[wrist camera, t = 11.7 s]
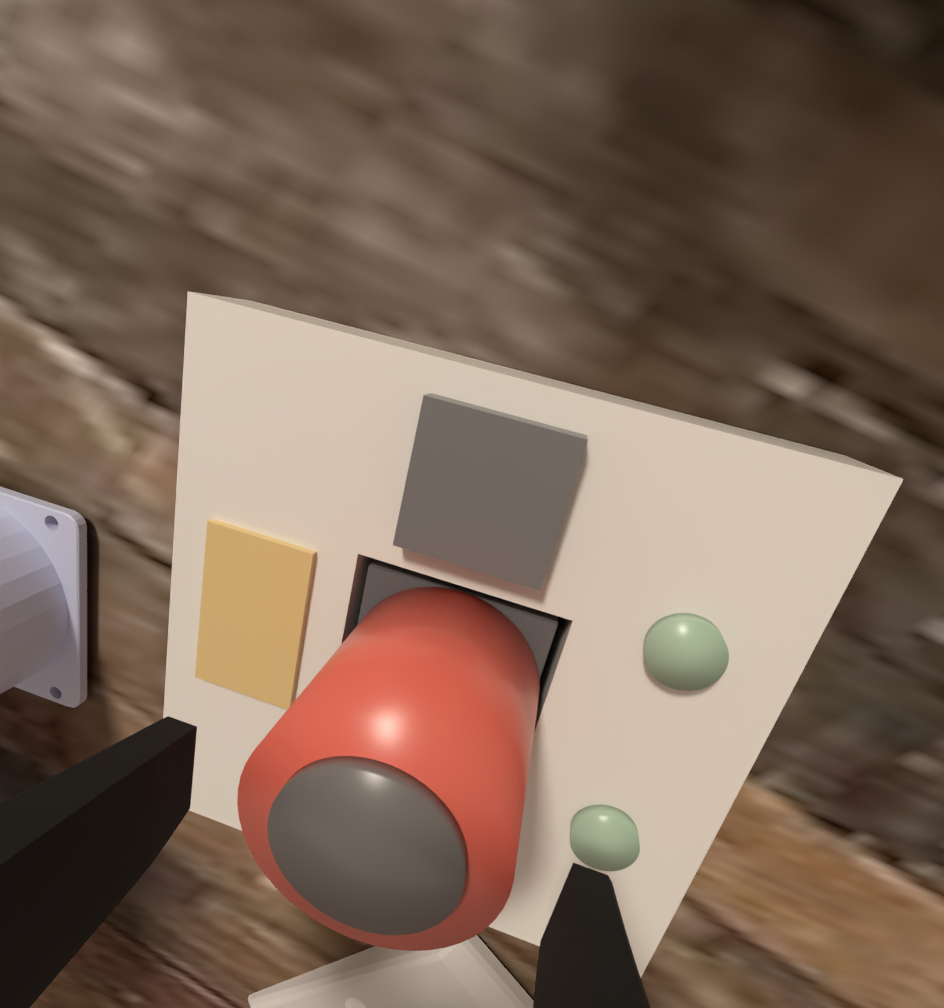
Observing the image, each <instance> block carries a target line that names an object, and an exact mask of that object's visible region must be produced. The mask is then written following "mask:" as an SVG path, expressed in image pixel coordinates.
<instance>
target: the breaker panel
mask: <svg viewBox="0 0 944 1008" xmlns="http://www.w3.org/2000/svg"><path fill="white" fill-rule="evenodd" d="M902 481H903V479H902V478H899V477H897V476H895V475H892V474H890V473H887V472H885V471H882V470H880V469H877V468H875V467H872V466H870V465H867V464H865V463H862V462H860V461H857V460H855V459H852V458H850V457H848V456H845V455H842V454H838V453H834V452H830V451H826V450H822V449H818V448H815V447H811V446H807V445H803V444H799V443H795V442H792V441H788V440H784V439H780V438H776V437H772V436H769V435H765V434H761V433H757V432H753V431H749V430H746V429H742V428H738V427H734V426H730V425H726V424H723V423H719V422H715V421H711V420H707V419H703V418H699V417H696V416H692V415H688V414H684V413H680V412H676V411H673V410H669V409H665V408H661V407H657V406H653V405H650V404H646V403H642V402H638V401H634V400H630V399H627V398H623V397H619V396H615V395H611V394H607V393H604V392H600V391H596V390H592V389H588V388H584V387H581V386H577V385H573V384H569V383H565V382H561V381H557V380H554V379H550V378H546V377H542V376H538V375H534V374H531V373H527V372H523V371H519V370H515V369H511V368H508V367H504V366H500V365H496V364H492V363H488V362H485V361H481V360H477V359H473V358H469V357H465V356H462V355H458V354H454V353H450V352H446V351H442V350H439V349H435V348H431V347H427V346H423V345H419V344H415V343H412V342H408V341H404V340H400V339H396V338H392V337H389V336H385V335H381V334H377V333H373V332H369V331H366V330H362V329H358V328H354V327H350V326H346V325H343V324H339V323H335V322H331V321H327V320H323V319H320V318H316V317H312V316H308V315H304V314H300V313H296V312H293V311H289V310H285V309H281V308H277V307H273V306H270V305H266V304H262V303H258V302H254V301H250V300H243V299H236V298H230V297H223V296H216V295H209V294H202V293H195V292H188V297H187V315H186V332H185V349H184V367H183V384H182V402H181V419H180V436H179V454H178V471H177V489H176V506H175V523H174V541H173V558H172V576H171V593H170V610H169V628H168V645H167V663H166V680H165V697H164V715H163V719H164V718H166V717H167V716H169V717H172V718H175V719H177V720H180V721H183V722H186V723H189V724H191V725H194V726H197V733H196V745H195V757H194V769H193V781H192V792H191V804H190V809H189V810H190V811H192V812H195V813H198V814H200V815H203V816H205V817H208V818H210V819H213V820H216V821H218V822H221V823H223V824H226V825H228V826H231V827H234V828H236V829H239V830H241V831H242V828H241V824H240V820H239V814H238V805H237V798H238V786H239V781H240V776H241V774H242V771H243V769H244V766H245V764H246V762H247V760H248V759H249V757H250V755H251V754H252V752H253V751H254V750H255V748H256V747H257V746H258V745H259V744H260V742H261V741H262V740H263V739H264V738H265V736H266V735H267V734H268V733H269V731H270V730H271V729H272V728H273V727H274V725H275V724H276V723H277V722H278V721H279V719H280V718H281V717H282V716H283V715H284V713H285V712H286V711H287V710H288V709H289V707H290V706H291V705H292V704H293V702H294V701H295V700H296V699H297V698H298V696H299V695H300V694H301V693H302V692H303V690H304V689H305V688H306V687H307V686H308V684H309V683H310V682H311V681H312V679H313V678H314V677H315V676H316V675H317V673H318V672H319V671H320V670H321V669H322V667H323V666H324V665H325V664H326V663H327V661H328V660H329V659H330V658H331V656H332V655H333V654H334V653H335V652H336V650H337V649H338V648H339V647H340V646H341V644H342V643H343V642H344V641H345V640H346V638H347V637H348V636H349V635H350V633H351V632H352V631H353V630H354V629H355V627H356V626H357V624H358V619H359V614H360V609H361V603H362V598H363V593H364V588H365V582H366V577H367V572H368V567H369V565H370V564H371V563H372V562H373V561H374V560H375V559H377V560H380V561H383V562H386V563H389V564H393V565H396V566H399V567H402V568H405V569H409V570H412V571H415V572H418V573H421V574H425V575H428V576H431V577H434V578H437V579H441V580H444V581H447V582H450V583H453V584H457V585H460V586H463V587H466V588H469V589H473V590H476V591H479V592H482V593H485V594H488V595H492V596H495V597H498V598H501V599H504V600H508V601H511V602H514V603H517V604H520V605H524V606H527V607H530V608H533V609H536V610H540V611H543V612H546V613H549V614H552V615H556V616H559V617H561V619H560V622H559V625H558V628H557V631H556V634H555V637H554V640H553V643H552V646H551V649H550V652H549V655H548V658H547V661H546V664H545V667H544V670H543V673H542V676H541V679H540V691H539V700H538V708H537V715H536V722H535V730H534V737H533V744H532V751H531V759H530V766H529V773H528V781H527V788H526V795H525V803H524V810H523V817H522V825H521V832H520V839H519V847H518V854H517V861H516V869H515V876H514V882H513V886H512V890H511V893H510V896H509V898H508V900H507V903H506V905H505V907H504V909H503V910H502V911H501V913H500V914H499V915H498V917H497V918H496V919H495V920H494V921H493V922H492V923H491V924H490V925H489V927H491V928H494V929H496V930H499V931H501V932H504V933H507V934H509V935H512V936H514V937H517V938H519V939H522V940H525V941H527V942H530V943H532V944H535V945H537V946H540V941H541V939H542V936H543V934H544V932H545V929H546V927H547V924H548V922H549V920H550V917H551V915H552V912H553V910H554V907H555V905H556V903H557V900H558V898H559V895H560V893H561V891H562V888H563V886H564V883H565V881H566V879H567V876H568V874H569V871H570V869H571V867H572V864H573V863H576V864H579V865H582V866H584V867H587V868H590V869H593V870H595V871H598V872H601V873H604V874H606V875H608V876H609V878H610V879H611V881H612V884H613V887H614V891H615V895H616V898H617V902H618V906H619V909H620V913H621V916H622V920H623V923H624V926H625V930H626V933H627V936H628V940H629V943H630V946H631V950H632V953H633V956H634V959H635V962H636V966H637V969H638V972H639V975H640V978H641V977H642V975H643V973H644V971H645V969H646V967H647V965H648V963H649V961H650V959H651V958H652V956H653V954H654V952H655V950H656V948H657V946H658V944H659V942H660V940H661V939H662V937H663V935H664V933H665V931H666V929H667V927H668V925H669V923H670V921H671V920H672V918H673V916H674V914H675V912H676V910H677V908H678V906H679V904H680V903H681V901H682V899H683V897H684V895H685V893H686V891H687V889H688V887H689V885H690V884H691V882H692V880H693V878H694V876H695V874H696V872H697V870H698V868H699V866H700V865H701V863H702V861H703V859H704V857H705V855H706V853H707V851H708V849H709V847H710V846H711V844H712V842H713V840H714V838H715V836H716V834H717V832H718V830H719V829H720V827H721V825H722V823H723V821H724V819H725V817H726V815H727V813H728V811H729V810H730V808H731V806H732V804H733V802H734V800H735V798H736V796H737V794H738V792H739V791H740V789H741V787H742V785H743V783H744V781H745V779H746V777H747V775H748V773H749V772H750V770H751V768H752V766H753V764H754V762H755V760H756V758H757V756H758V754H759V753H760V751H761V749H762V747H763V745H764V743H765V741H766V739H767V737H768V736H769V734H770V732H771V730H772V728H773V726H774V724H775V722H776V720H777V718H778V717H779V715H780V713H781V711H782V709H783V707H784V705H785V703H786V701H787V699H788V698H789V696H790V694H791V692H792V690H793V688H794V686H795V684H796V682H797V680H798V679H799V677H800V675H801V673H802V671H803V669H804V667H805V665H806V663H807V662H808V660H809V658H810V656H811V654H812V652H813V650H814V648H815V646H816V644H817V643H818V641H819V639H820V637H821V635H822V633H823V631H824V629H825V627H826V625H827V624H828V622H829V620H830V618H831V616H832V614H833V612H834V610H835V608H836V606H837V605H838V603H839V601H840V599H841V597H842V595H843V593H844V591H845V589H846V588H847V586H848V584H849V582H850V580H851V578H852V576H853V574H854V572H855V570H856V569H857V567H858V565H859V563H860V561H861V559H862V557H863V555H864V553H865V551H866V550H867V548H868V546H869V544H870V542H871V540H872V538H873V536H874V534H875V532H876V531H877V529H878V527H879V525H880V523H881V521H882V519H883V517H884V515H885V513H886V512H887V510H888V508H889V506H890V504H891V502H892V500H893V498H894V496H895V495H896V493H897V491H898V489H899V487H900V485H901V483H902Z"/></svg>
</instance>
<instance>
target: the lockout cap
mask: <svg viewBox="0 0 944 1008" xmlns="http://www.w3.org/2000/svg"><path fill="white" fill-rule="evenodd" d="M539 691H540V680H539V672H538V667H537V662H536V660H535V657H534V654H533V651H532V650H531V648H530V646H529V644H528V642H527V640H526V639H525V637H524V636H523V634H522V633H521V631H520V630H519V629H518V628H517V627H516V625H515V624H514V623H513V622H512V621H511V620H510V619H509V618H508V617H507V616H505V615H504V614H503V613H502V612H501V611H500V610H498V609H497V608H495V607H494V606H492V605H491V604H489V603H488V602H486V601H484V600H482V599H480V598H478V597H476V596H474V595H471V594H468V593H466V592H463V591H459V590H455V589H451V588H444V587H418V588H411V589H407V590H403V591H400V592H398V593H395V594H393V595H390V596H389V597H387V598H385V599H384V600H382V601H380V602H379V603H378V604H377V605H375V606H374V607H373V608H372V609H371V610H370V611H369V612H368V613H367V614H366V615H365V617H364V618H363V619H362V620H361V621H360V623H359V624H358V625H357V626H356V627H355V629H354V630H353V631H352V632H351V633H350V635H349V636H348V637H347V638H346V640H345V641H344V642H343V643H342V644H341V646H340V647H339V648H338V649H337V650H336V652H335V653H334V654H333V655H332V656H331V658H330V659H329V660H328V661H327V663H326V664H325V665H324V666H323V667H322V669H321V670H320V671H319V672H318V673H317V675H316V676H315V677H314V678H313V679H312V681H311V682H310V683H309V684H308V686H307V687H306V688H305V689H304V690H303V692H302V693H301V694H300V695H299V696H298V698H297V699H296V700H295V701H294V702H293V704H292V705H291V706H290V707H289V709H288V710H287V711H286V712H285V713H284V715H283V716H282V717H281V718H280V719H279V721H278V722H277V723H276V724H275V725H274V727H273V728H272V729H271V730H270V731H269V733H268V734H267V735H266V736H265V738H264V739H263V740H262V741H261V742H260V744H259V745H258V746H257V747H256V748H255V750H254V751H253V752H252V754H251V755H250V757H249V759H248V760H247V762H246V764H245V766H244V769H243V771H242V774H241V776H240V781H239V786H238V798H237V805H238V814H239V820H240V824H241V828H242V832H243V835H244V837H245V840H246V842H247V845H248V847H249V849H250V851H251V853H252V855H253V857H254V858H255V860H256V862H257V863H258V865H259V866H260V868H261V869H262V871H263V872H264V874H265V875H266V876H267V877H268V879H269V880H270V881H271V882H272V883H273V885H274V886H275V887H276V888H277V889H278V890H279V891H280V892H281V893H282V894H283V895H284V896H285V897H286V898H287V899H288V900H289V901H290V902H292V903H293V904H294V905H295V906H296V907H298V908H299V909H300V910H301V911H303V912H304V913H306V914H307V915H308V916H310V917H311V918H313V919H314V920H316V921H317V922H319V923H321V924H323V925H324V926H326V927H328V928H330V929H331V930H334V931H336V932H338V933H340V934H342V935H344V936H346V937H349V938H352V939H355V940H357V941H360V942H363V943H366V944H370V945H374V946H378V947H382V948H388V949H394V950H406V951H424V950H434V949H440V948H446V947H449V946H453V945H456V944H459V943H462V942H464V941H466V940H468V939H470V938H473V937H474V936H476V935H477V934H479V933H480V932H482V931H483V930H485V929H486V928H487V927H488V926H489V925H490V924H491V923H492V922H493V921H494V920H495V919H496V918H497V917H498V915H499V914H500V913H501V911H502V910H503V909H504V907H505V905H506V903H507V900H508V898H509V896H510V893H511V890H512V886H513V882H514V876H515V869H516V861H517V854H518V847H519V839H520V832H521V825H522V817H523V810H524V803H525V795H526V788H527V781H528V773H529V766H530V759H531V751H532V744H533V737H534V730H535V722H536V715H537V708H538V700H539Z"/></svg>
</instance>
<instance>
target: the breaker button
mask: <svg viewBox="0 0 944 1008" xmlns="http://www.w3.org/2000/svg"><path fill="white" fill-rule="evenodd" d="M418 587H444V588H451V589H455V590H459V591H463V592H466V593H468V594H471V595H474V596H476V597H478V598H480V599H482V600H484V601H486V602H488V603H489V604H491V605H492V606H494V607H495V608H497V609H498V610H500V611H501V612H502V613H503V614H504V615H505V616H507V617H508V618H509V619H510V620H511V621H512V622H513V623H514V624H515V625H516V627H517V628H518V629H519V630H520V631H521V633H522V634H523V636H524V637H525V639H526V640H527V642H528V644H529V646H530V648H531V650H532V651H533V654H534V657H535V660H536V662H537V667H538V672H539V679H540V676H541V673H542V670H543V667H544V664H545V661H546V658H547V655H548V652H549V649H550V646H551V643H552V640H553V637H554V634H555V631H556V628H557V625H558V616H556V615H552V614H549V613H546V612H543V611H540V610H536V609H533V608H530V607H527V606H524V605H520V604H517V603H514V602H511V601H508V600H504V599H501V598H498V597H495V596H492V595H488V594H485V593H482V592H479V591H476V590H473V589H469V588H466V587H463V586H460V585H457V584H453V583H450V582H447V581H444V580H441V579H437V578H434V577H431V576H428V575H425V574H421V573H418V572H415V571H412V570H409V569H405V568H402V567H399V566H396V565H393V564H389V563H386V562H383V561H380V560H377V559H375V560H374V561H373V562H372V563H371V564H370V565H369V567H368V572H367V577H366V582H365V588H364V593H363V598H362V603H361V609H360V614H359V619H358V624H359V623H360V621H361V620H362V619H363V618H364V617H365V615H366V614H367V613H368V612H369V611H370V610H371V609H372V608H373V607H374V606H375V605H377V604H378V603H379V602H380V601H382V600H384V599H385V598H387V597H389V596H390V595H393V594H395V593H398V592H400V591H403V590H407V589H411V588H418ZM358 624H357V625H358Z"/></svg>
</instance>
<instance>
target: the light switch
mask: <svg viewBox="0 0 944 1008" xmlns="http://www.w3.org/2000/svg"><path fill="white" fill-rule="evenodd" d="M248 1001H249V1004H250V1007H251V1008H533V1002H534V1001H533V1000H532V998H531V997H530V996H529V995H528V994H527V993H526V992H525V990H524V989H523V988H522V987H521V986H520V985H519V983H518V982H517V981H516V980H515V979H514V978H513V976H512V975H511V974H510V973H509V972H508V971H507V969H506V968H505V967H504V966H503V965H502V964H501V962H500V961H499V960H498V959H497V958H496V957H495V956H494V954H493V953H492V952H491V951H490V950H489V949H488V947H487V946H486V945H485V944H484V943H483V942H482V940H481V939H480V938H479V937H478V936H477V935H476V936H474V937H473V938H470V939H468V940H466V941H464V942H462V943H459V944H456V945H453V946H449V947H446V948H440V949H434V950H424V951H406V950H394V949H388V948H382V947H378V946H374V947H371V948H369V949H366V950H364V951H361V952H358V953H356V954H353V955H351V956H348V957H346V958H343V959H340V960H338V961H335V962H333V963H330V964H328V965H325V966H322V967H320V968H317V969H315V970H312V971H310V972H307V973H304V974H302V975H299V976H297V977H294V978H292V979H289V980H286V981H284V982H281V983H279V984H276V985H274V986H271V987H268V988H266V989H263V990H261V991H258V992H256V993H253V994H250V995H249V997H248Z"/></svg>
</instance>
